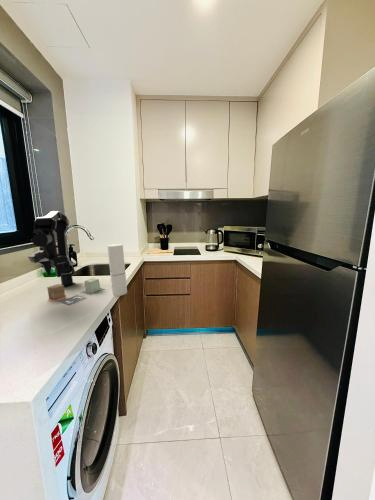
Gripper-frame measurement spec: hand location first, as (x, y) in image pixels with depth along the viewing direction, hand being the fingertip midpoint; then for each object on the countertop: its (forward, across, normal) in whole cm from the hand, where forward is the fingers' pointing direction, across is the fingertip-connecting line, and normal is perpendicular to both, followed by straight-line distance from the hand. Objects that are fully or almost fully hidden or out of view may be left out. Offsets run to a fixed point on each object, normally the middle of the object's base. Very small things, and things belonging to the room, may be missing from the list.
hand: (53, 275), depth 98 cm
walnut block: (+11, 0, 0) cm, 11 cm away
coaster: (+12, 0, 0) cm, 12 cm away
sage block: (+11, +8, +14) cm, 20 cm away
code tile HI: (+12, +8, +14) cm, 20 cm away
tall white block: (+12, +24, +18) cm, 32 cm away
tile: (+12, +10, +2) cm, 15 cm away
